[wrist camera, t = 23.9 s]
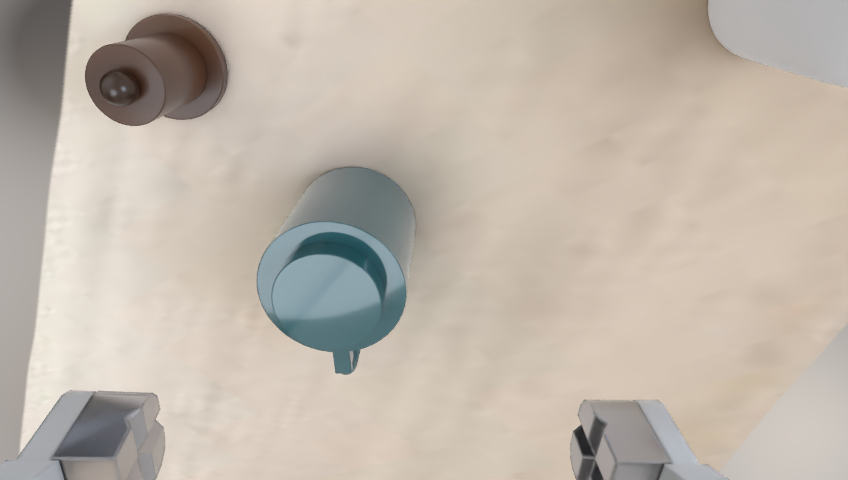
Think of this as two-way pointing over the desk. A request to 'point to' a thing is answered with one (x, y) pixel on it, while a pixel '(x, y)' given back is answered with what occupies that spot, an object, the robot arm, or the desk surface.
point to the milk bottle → (787, 35)
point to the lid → (158, 72)
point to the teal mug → (340, 264)
